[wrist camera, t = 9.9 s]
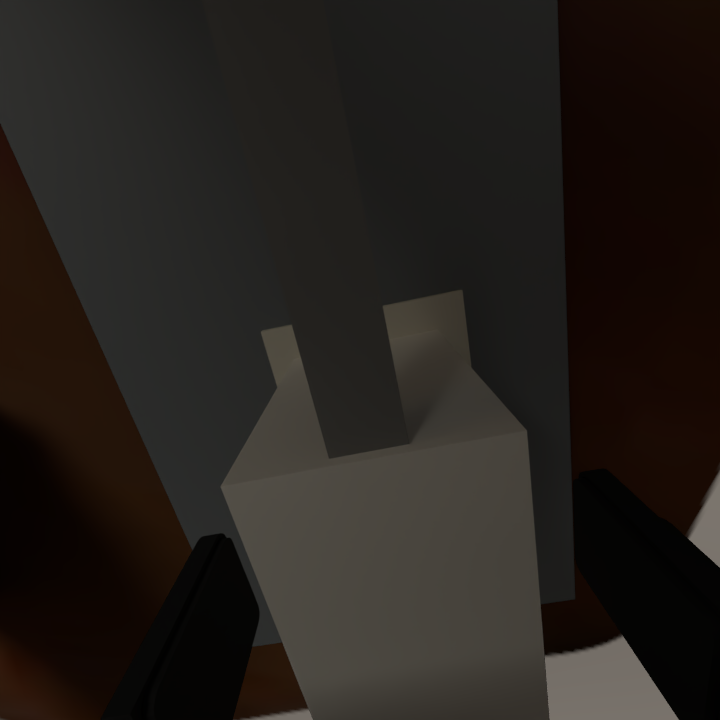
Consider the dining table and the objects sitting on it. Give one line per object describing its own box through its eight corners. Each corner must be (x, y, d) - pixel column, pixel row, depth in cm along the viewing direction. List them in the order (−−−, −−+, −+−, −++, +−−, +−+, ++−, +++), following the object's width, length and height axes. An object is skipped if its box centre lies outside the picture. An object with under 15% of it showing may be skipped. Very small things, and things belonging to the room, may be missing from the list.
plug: (231, 138, 9) (12, -39, 3) (402, 95, 9) (478, -177, 3) (362, 598, 14) (363, 845, 8) (475, 580, 14) (557, 823, 8)
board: (-45, -63, 9) (-482, -392, 4) (521, -231, 8) (743, -884, 3) (245, 620, 16) (199, 772, 12) (559, 572, 15) (645, 716, 11)
